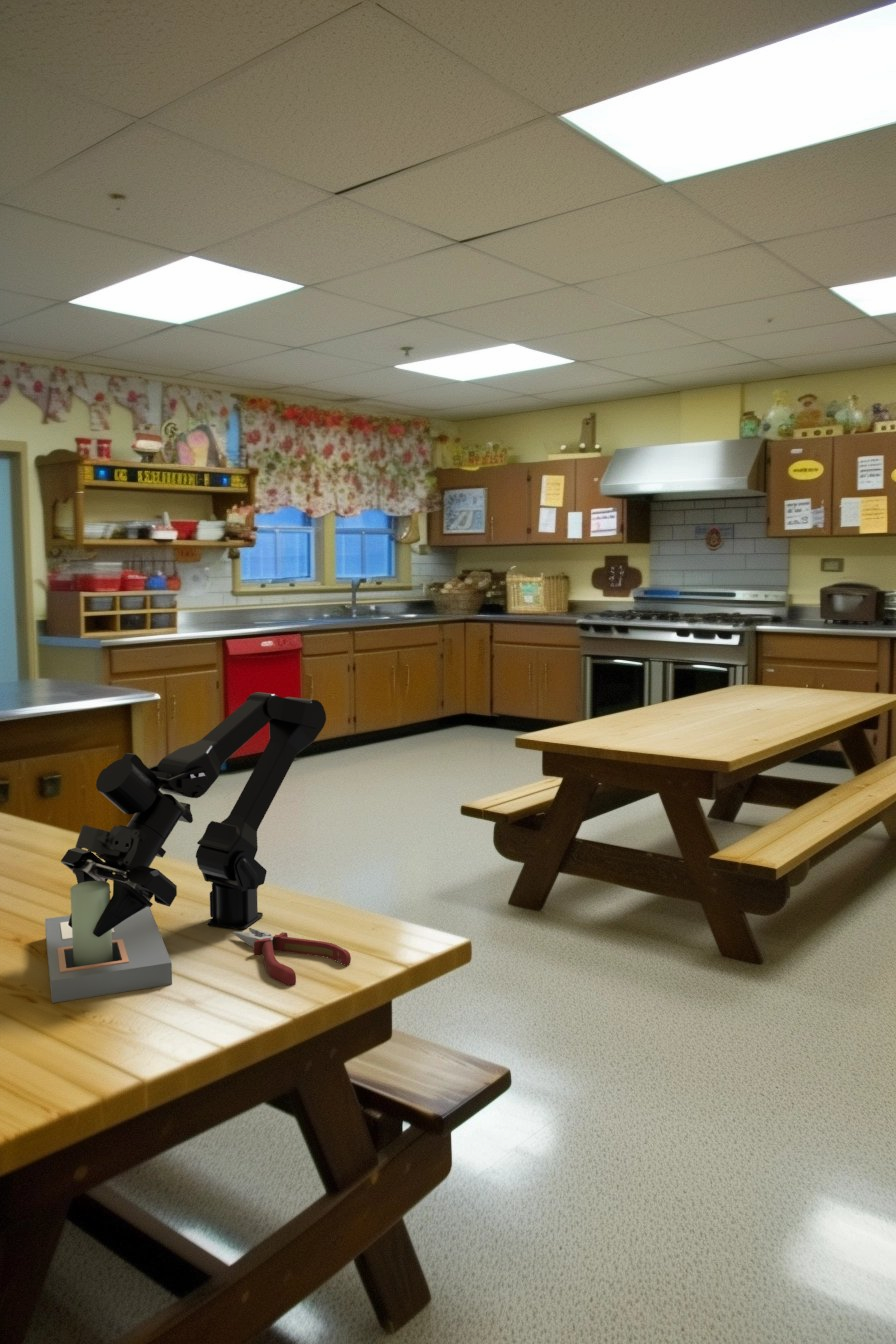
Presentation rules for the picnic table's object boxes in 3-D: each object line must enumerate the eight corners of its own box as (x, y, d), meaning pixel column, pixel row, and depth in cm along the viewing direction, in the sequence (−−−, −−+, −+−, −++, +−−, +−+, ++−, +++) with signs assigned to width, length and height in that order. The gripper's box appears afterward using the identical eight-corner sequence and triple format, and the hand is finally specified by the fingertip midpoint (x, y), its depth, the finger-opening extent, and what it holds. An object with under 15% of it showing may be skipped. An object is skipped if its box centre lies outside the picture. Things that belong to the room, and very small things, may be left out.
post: (116, 957, 141) (113, 880, 140) (108, 971, 136) (105, 892, 135) (78, 958, 140) (75, 881, 139) (70, 973, 135) (66, 893, 134)
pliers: (273, 928, 157) (272, 912, 157) (355, 967, 143) (354, 949, 143) (207, 948, 149) (207, 931, 149) (287, 991, 135) (287, 972, 135)
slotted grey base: (172, 984, 136) (171, 961, 136) (52, 1003, 130) (50, 979, 130) (149, 923, 158) (149, 904, 158) (45, 938, 152) (45, 917, 152)
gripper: (69, 791, 144) (1, 888, 136) (156, 811, 133) (87, 917, 126) (118, 833, 151) (56, 927, 144) (204, 854, 141) (142, 957, 133)
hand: (83, 931), depth 136 cm, fingers closed on post, 5 cm apart
